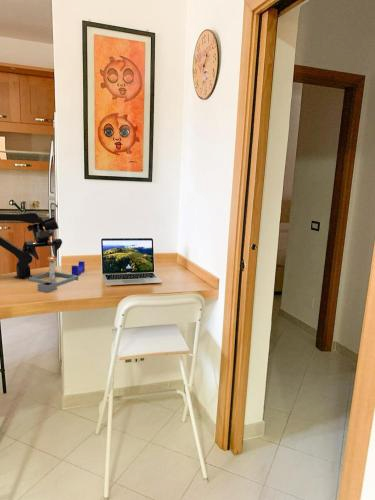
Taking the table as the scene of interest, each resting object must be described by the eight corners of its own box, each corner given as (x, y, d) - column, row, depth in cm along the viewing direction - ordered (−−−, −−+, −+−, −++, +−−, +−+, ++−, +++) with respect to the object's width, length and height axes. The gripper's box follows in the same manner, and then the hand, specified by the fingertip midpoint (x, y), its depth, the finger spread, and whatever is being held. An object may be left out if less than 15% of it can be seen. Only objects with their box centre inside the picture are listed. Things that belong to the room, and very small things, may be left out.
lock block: (37, 293, 176) (37, 284, 175) (46, 290, 182) (46, 281, 181) (48, 295, 174) (47, 286, 173) (56, 292, 180) (56, 283, 179)
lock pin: (46, 283, 190) (45, 257, 187) (51, 281, 193) (51, 256, 191) (52, 285, 188) (52, 258, 186) (58, 282, 192) (57, 257, 189)
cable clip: (77, 270, 220) (77, 261, 218) (84, 271, 219) (84, 261, 218) (69, 276, 208) (68, 265, 207) (76, 276, 208) (76, 266, 206)
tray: (28, 283, 191) (28, 277, 190) (51, 276, 205) (50, 271, 205) (57, 289, 184) (57, 283, 184) (78, 281, 199) (78, 275, 198)
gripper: (23, 225, 187) (31, 251, 181) (60, 223, 198) (69, 247, 192) (19, 238, 194) (27, 264, 188) (55, 236, 206) (63, 259, 200)
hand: (47, 258), depth 192 cm, fingers open, 9 cm apart
